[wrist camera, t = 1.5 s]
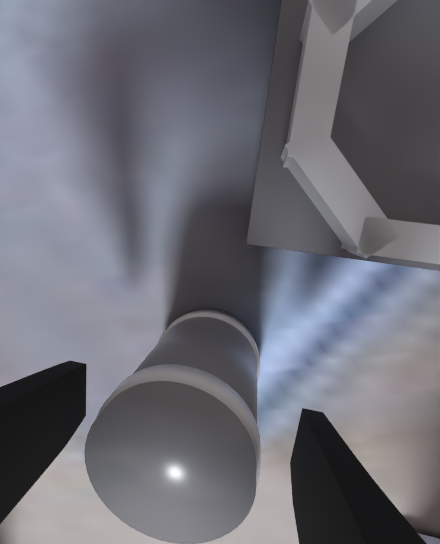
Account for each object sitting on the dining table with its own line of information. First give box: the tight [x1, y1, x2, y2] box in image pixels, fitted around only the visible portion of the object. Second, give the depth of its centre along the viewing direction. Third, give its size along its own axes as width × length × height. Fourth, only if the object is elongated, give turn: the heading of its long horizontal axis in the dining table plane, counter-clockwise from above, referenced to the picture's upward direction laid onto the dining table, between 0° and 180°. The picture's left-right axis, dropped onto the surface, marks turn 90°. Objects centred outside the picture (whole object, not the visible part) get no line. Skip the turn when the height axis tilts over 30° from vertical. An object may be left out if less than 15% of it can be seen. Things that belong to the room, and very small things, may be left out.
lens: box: [85, 308, 260, 544], centre depth 9 cm, size 5×5×6 cm
